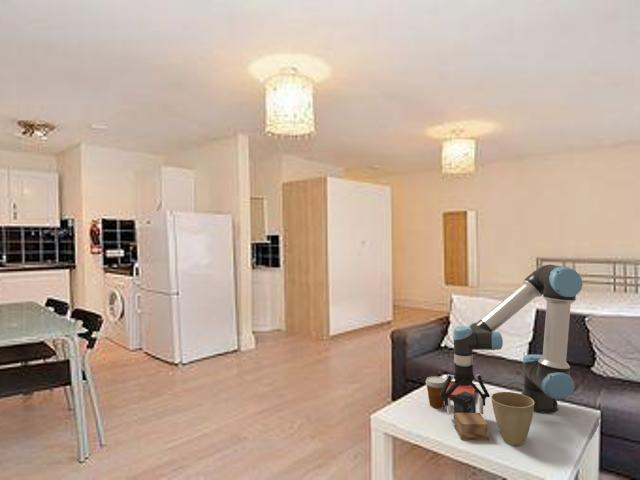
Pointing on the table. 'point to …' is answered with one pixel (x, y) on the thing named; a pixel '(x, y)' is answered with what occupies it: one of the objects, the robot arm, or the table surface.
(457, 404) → the box
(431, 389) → the disposable coffee cup
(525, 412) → the plant pot
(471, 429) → the pedestal
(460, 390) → the plant saucer
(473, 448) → the table surface
